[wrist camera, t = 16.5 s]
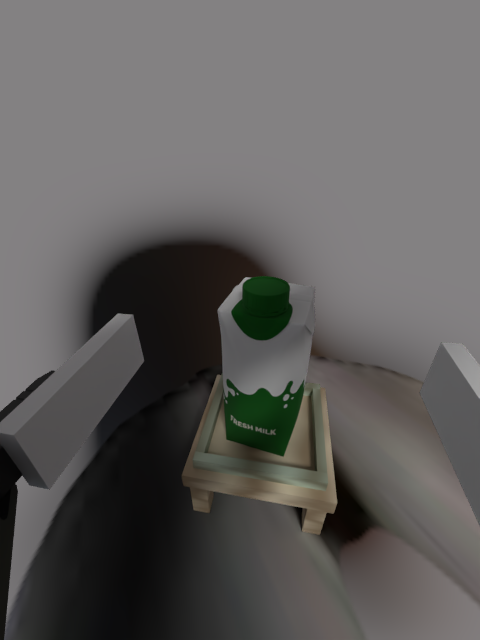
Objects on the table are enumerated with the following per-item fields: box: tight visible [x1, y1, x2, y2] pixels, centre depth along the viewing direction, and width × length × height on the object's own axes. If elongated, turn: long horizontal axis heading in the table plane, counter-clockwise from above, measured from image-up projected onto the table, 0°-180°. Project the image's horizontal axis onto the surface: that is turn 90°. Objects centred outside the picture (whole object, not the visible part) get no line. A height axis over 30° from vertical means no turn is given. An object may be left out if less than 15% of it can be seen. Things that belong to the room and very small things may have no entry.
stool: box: [182, 372, 337, 535], centre depth 38 cm, size 16×16×10 cm
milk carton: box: [218, 276, 315, 457], centre depth 31 cm, size 9×9×20 cm
